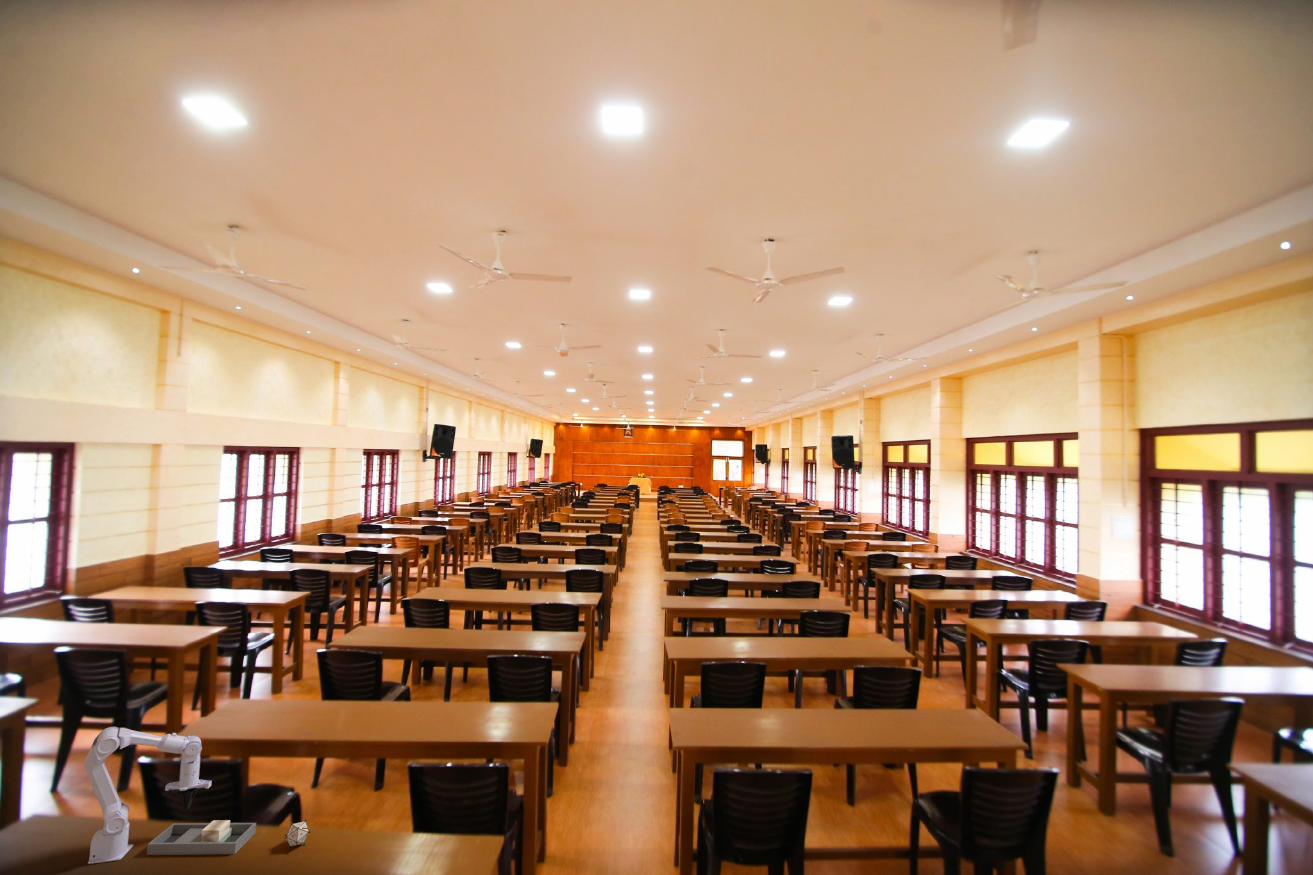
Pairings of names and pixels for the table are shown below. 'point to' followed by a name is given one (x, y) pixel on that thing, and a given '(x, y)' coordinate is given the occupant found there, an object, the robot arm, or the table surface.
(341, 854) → the table surface
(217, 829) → the cream block
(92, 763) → the robot arm
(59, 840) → the table surface
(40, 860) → the table surface
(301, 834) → the game die
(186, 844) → the gray tray
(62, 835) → the table surface
